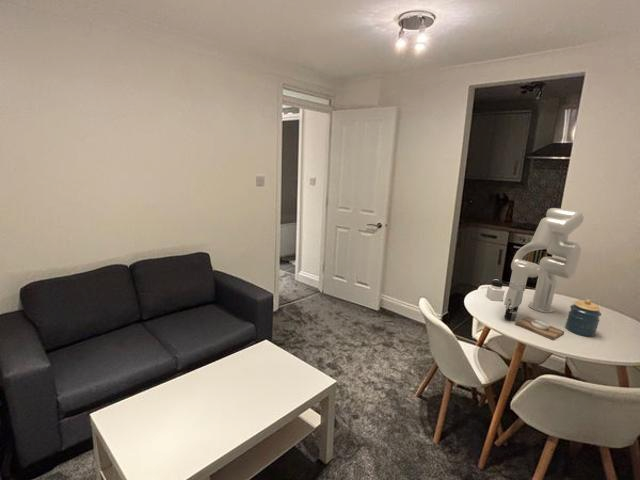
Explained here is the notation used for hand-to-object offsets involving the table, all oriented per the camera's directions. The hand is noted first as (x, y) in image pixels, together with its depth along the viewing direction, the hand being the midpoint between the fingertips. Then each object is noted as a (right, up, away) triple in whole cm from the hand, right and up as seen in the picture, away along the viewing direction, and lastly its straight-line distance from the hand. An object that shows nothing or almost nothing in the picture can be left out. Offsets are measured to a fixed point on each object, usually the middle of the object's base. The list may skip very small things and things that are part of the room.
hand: (510, 317), depth 191 cm
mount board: (+10, -4, -9) cm, 14 cm away
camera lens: (0, -1, 0) cm, 1 cm away
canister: (+32, -6, -8) cm, 33 cm away
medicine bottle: (+5, +5, +28) cm, 29 cm away
